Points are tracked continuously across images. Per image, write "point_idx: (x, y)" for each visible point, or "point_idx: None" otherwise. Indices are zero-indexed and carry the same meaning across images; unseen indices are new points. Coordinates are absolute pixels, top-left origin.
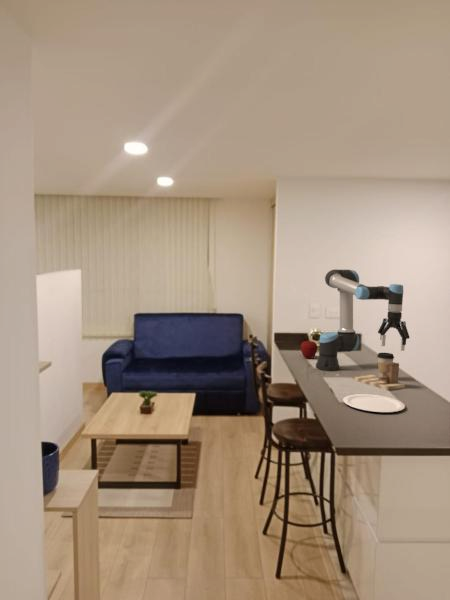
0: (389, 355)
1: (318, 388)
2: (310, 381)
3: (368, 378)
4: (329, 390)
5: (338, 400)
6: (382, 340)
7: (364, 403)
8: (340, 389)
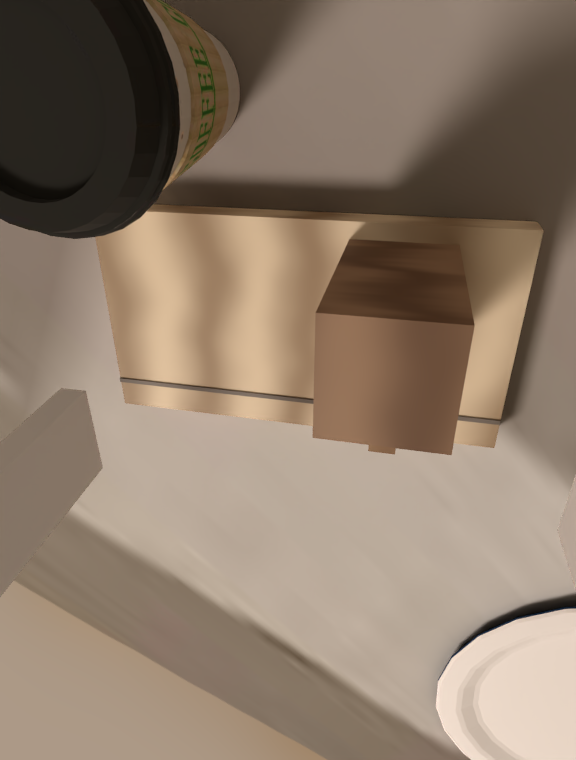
0: (135, 155)
1: (229, 659)
2: (101, 596)
3: (219, 355)
4: (283, 653)
5: (435, 739)
6: (30, 547)
7: (565, 729)
8: (295, 609)
